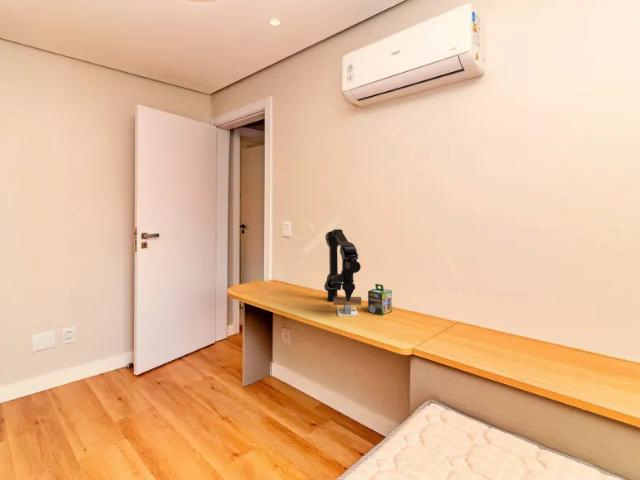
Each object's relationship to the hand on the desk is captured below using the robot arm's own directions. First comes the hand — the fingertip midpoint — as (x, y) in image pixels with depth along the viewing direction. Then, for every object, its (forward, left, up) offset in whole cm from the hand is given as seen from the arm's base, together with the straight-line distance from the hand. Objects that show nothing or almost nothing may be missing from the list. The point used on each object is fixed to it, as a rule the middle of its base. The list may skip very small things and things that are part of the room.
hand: (347, 299), depth 181 cm
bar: (0, 0, -2) cm, 3 cm away
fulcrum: (0, 0, -7) cm, 7 cm away
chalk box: (-2, +17, -7) cm, 19 cm away
